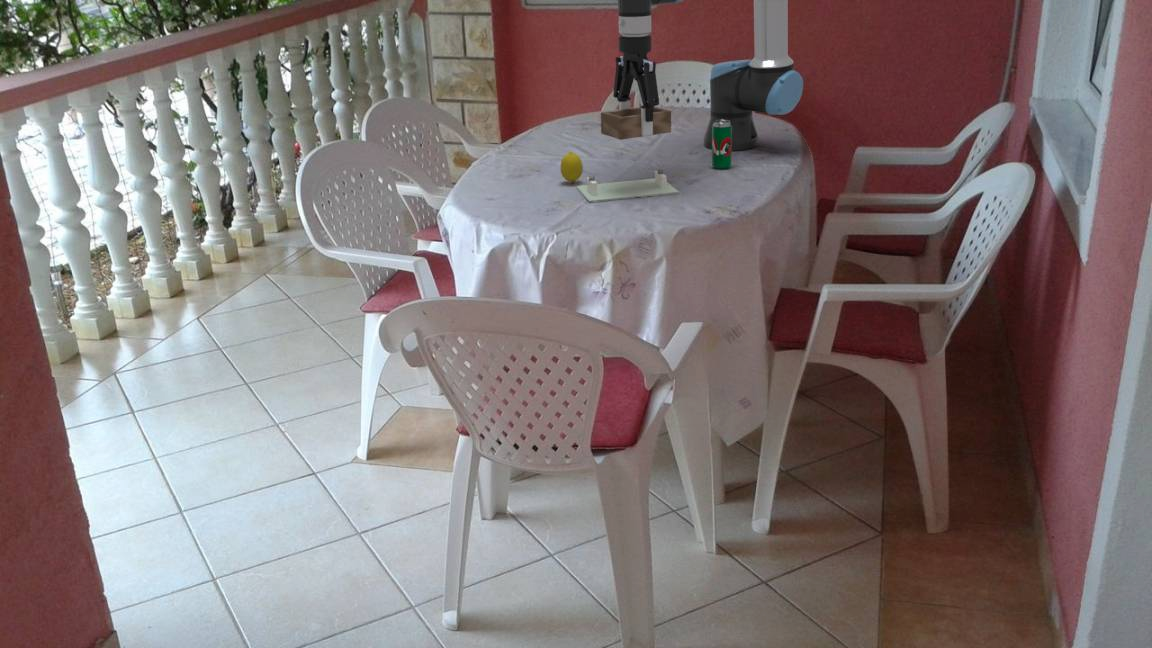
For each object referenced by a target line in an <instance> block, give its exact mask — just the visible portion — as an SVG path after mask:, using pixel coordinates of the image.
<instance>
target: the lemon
mask: <svg viewBox="0 0 1152 648" xmlns="http://www.w3.org/2000/svg"><path fill="white" fill-rule="evenodd" d="M583 166H584V165H583V162H582V159H581V157H580V156H579V155H578V154H576V153H573V151H569V153H567V154H565V155H564V156H563V157H562V159H561V162H560V173H561V175H562V177H563V179H564V180H566V181H568V182H569V183H570V184H574V183H575V182H576V181H577V180H579V179H580V177H582V174H583V169H584V168H583Z"/></svg>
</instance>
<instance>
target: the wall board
mask: <svg viewBox="0 0 1152 648" xmlns="http://www.w3.org/2000/svg"><path fill="white" fill-rule="evenodd" d="M667 180H668V179H667V175H666V174H665V173H664V169H657V170H654V178H645V179H636V180H625V181H615V182H604V183H598V182H597V181H596V178H595V176H593V175H591V176H588V177H586V184H585V185H584V184H583V185H576V186H575V187H576V189H577V190H578V191H580V192H581V193H582V194H583V195H582V194H581V195H582V196H583V197H584V199H585V198H586V199H587V200H588V201H589V202H593V203H595V202H594V201H602V202H608V201H607V200H612V201H617V200H616V199H622V200H626V199H625V198H632V199H636V198H635V197H641V198H648V197H647V196H651V197H659V196H660V195H661V196H669V194H670V195H677V194H679V192H680V191H679V190H677V189H676V188H675V187H674V186H672V185H671V183H669V182H668V181H667ZM580 192H579V193H580ZM586 199H585V200H586ZM587 200H586V201H587ZM588 201H587V202H588ZM589 202H588V203H589Z"/></svg>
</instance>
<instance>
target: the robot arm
mask: <svg viewBox="0 0 1152 648" xmlns="http://www.w3.org/2000/svg"><path fill="white" fill-rule="evenodd" d="M614 1H615V2H617V3H618V8H617V9H618V10H617V11H618V14H617V15H618V23H617V24H618V33H619V34H620V35H619V37H618V52H619V53H621V54H623V56H616V57H615V74H614V75H615V76H614V84H613V85H614V86H613V98H616V99H617V102H618V103H619V104H618V110H623V109H631V102H632V101H631V97H630V94H631V90H632V87H633V83H634V80H635V81H636V83H637V86H638V87H637V88H638V90H639V91H638V92H639V94H640V98H641V102H642V105H641V106H640V107H641V136H643V137H648V135H650V136H654V135H653V107H657V106H659V105H660V98H659V91H658V83H657V82H658V81H657V75H656V70H657V69H656V67H657V63H656V62H655V61H649V58H648V53H650V52H652V36H651V35H650V33H652V6H659V5H660V6H661V5H669V4H671V5H675V4H676V3H682V2H684V1H685V0H613V2H614ZM788 2H789V1H788V0H753V30H754V31H753V32H754V33H753V35H754V36H753V37H754V39H753V41H754V42H753V43H754V48H753V49H754V56H753V58H752V59H741V60H740V59H739V60H731V61H724V62H718V63H716V64H714V65H713V66H712V67H711V69H710V79H709V89H710V91H709V94H710V95H709V96H710V97H709V98H710V101H709V102H710V104H709V105H710V115H709V116H710V118H709V122H708V124H707V127H706V130H705V134H704V136H703V146H704V147H706V148H707V149H711V150H712V125H713V124H714V121H716V120H729V121H731V124H732V151H743V150H749V149H754V148H756V147H758V146H759V135H758V131H757V127H756V124H755V121H754V118H753V112H755V113H756V112H757V113H762V114H763V113H764V114H768V115H770V116H774V115H778V116H779V115H780V116H781V115H782V116H783V115H787V114H789V113H790V112H793V110H794V109H795V108H796V106H797V104H798V103H799V102H800V100H801V98H802V95H803V90H804V89H803V88H804V80H803V77H802V76H801V74H800V73H799V72H798V71H796V70H795V68H794V60H793V59H792V58H791V57H790V55H788V54H789V53H788V52H789V49H788V43H789V37H788V35H789V32H788V31H789V26H788V25H789V24H788V22H789V21H788V19H789V15H788V13H789V11H788V6H789V5H788Z"/></svg>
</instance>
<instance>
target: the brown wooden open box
mask: <svg viewBox="0 0 1152 648" xmlns="http://www.w3.org/2000/svg"><path fill="white" fill-rule="evenodd" d="M600 133H601V135H605V136H608V137H611V138H614V139H617V140H620V141H623V140H628V139H635V138H641V137H642V138H643V137H644V136H641V106H639V107H633V108H631V109H623V110H619V109H618V110H610V111H609V110H607V111H602V112H600ZM669 133H672V111H671V110H668V109H664V108H660V107H657V106H654V107H653V135H652V136H654V135H662V134H669ZM648 136H651V135H648ZM648 136H647V137H648Z"/></svg>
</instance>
